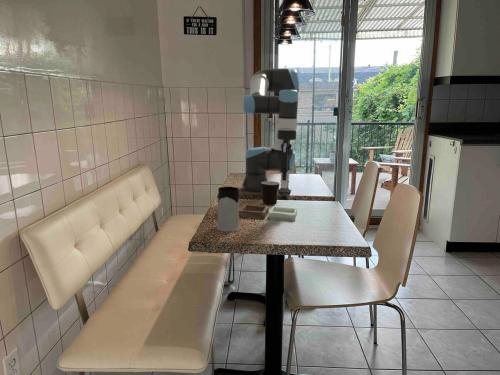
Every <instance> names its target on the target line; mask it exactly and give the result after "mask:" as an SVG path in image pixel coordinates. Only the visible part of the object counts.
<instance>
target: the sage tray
mask: <svg viewBox="0 0 500 375" xmlns="http://www.w3.org/2000/svg"><path fill="white" fill-rule="evenodd" d="M297 215H298V208H297V207H282V206H272V207H271V209H270V210H269V212H268V220H280V221H290V222H291V221H292V222H295V221H296V220H297V219H296V218H297Z"/></svg>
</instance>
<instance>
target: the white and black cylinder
mask: <svg viewBox="0 0 500 375" xmlns="http://www.w3.org/2000/svg"><path fill="white" fill-rule="evenodd" d="M239 191H240V188H239V187H235V186H221V187H218V190H217V192H218V195H217V196H218V199H217V225H216V230H218V231H220V232H236V231H238V230H240V220H239V219H240V218H239V210H240V197H239V195H240V194H239V193H240V192H239Z"/></svg>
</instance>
